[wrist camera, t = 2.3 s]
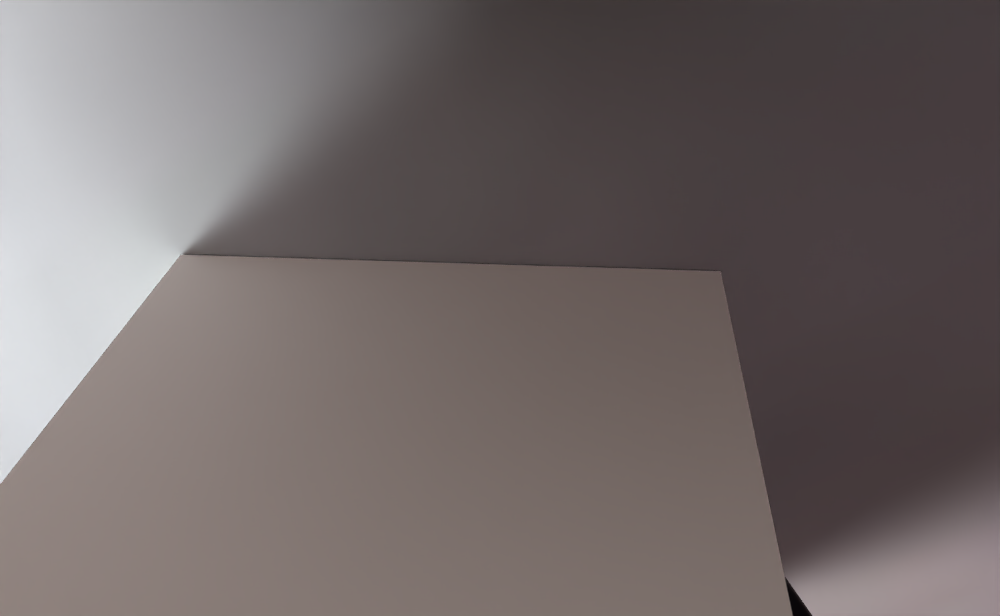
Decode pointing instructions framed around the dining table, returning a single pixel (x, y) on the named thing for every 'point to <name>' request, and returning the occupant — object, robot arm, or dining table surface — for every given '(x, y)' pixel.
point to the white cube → (401, 450)
